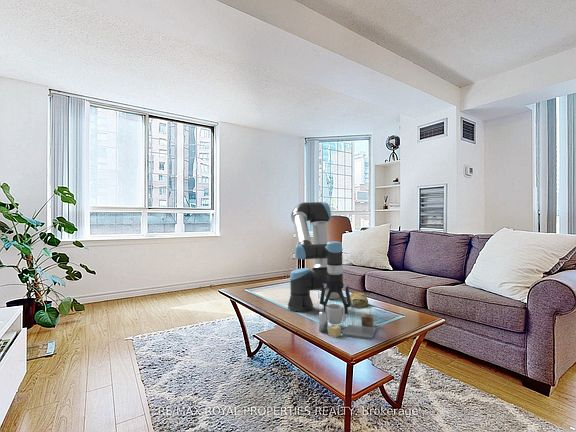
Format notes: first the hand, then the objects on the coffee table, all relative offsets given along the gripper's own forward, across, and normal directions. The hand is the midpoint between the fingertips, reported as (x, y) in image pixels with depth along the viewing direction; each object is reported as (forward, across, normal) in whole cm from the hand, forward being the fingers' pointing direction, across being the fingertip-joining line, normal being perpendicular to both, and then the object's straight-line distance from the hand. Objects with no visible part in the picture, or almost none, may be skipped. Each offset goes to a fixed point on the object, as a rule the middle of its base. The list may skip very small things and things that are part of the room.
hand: (335, 319), depth 148 cm
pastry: (+5, +3, +41) cm, 42 cm away
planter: (+5, -16, +53) cm, 56 cm away
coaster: (+3, +12, -5) cm, 14 cm away
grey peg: (+3, -4, -9) cm, 10 cm away
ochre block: (+3, +2, -12) cm, 12 cm away
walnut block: (+3, +14, +6) cm, 16 cm away
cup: (+1, -1, 0) cm, 2 cm away
